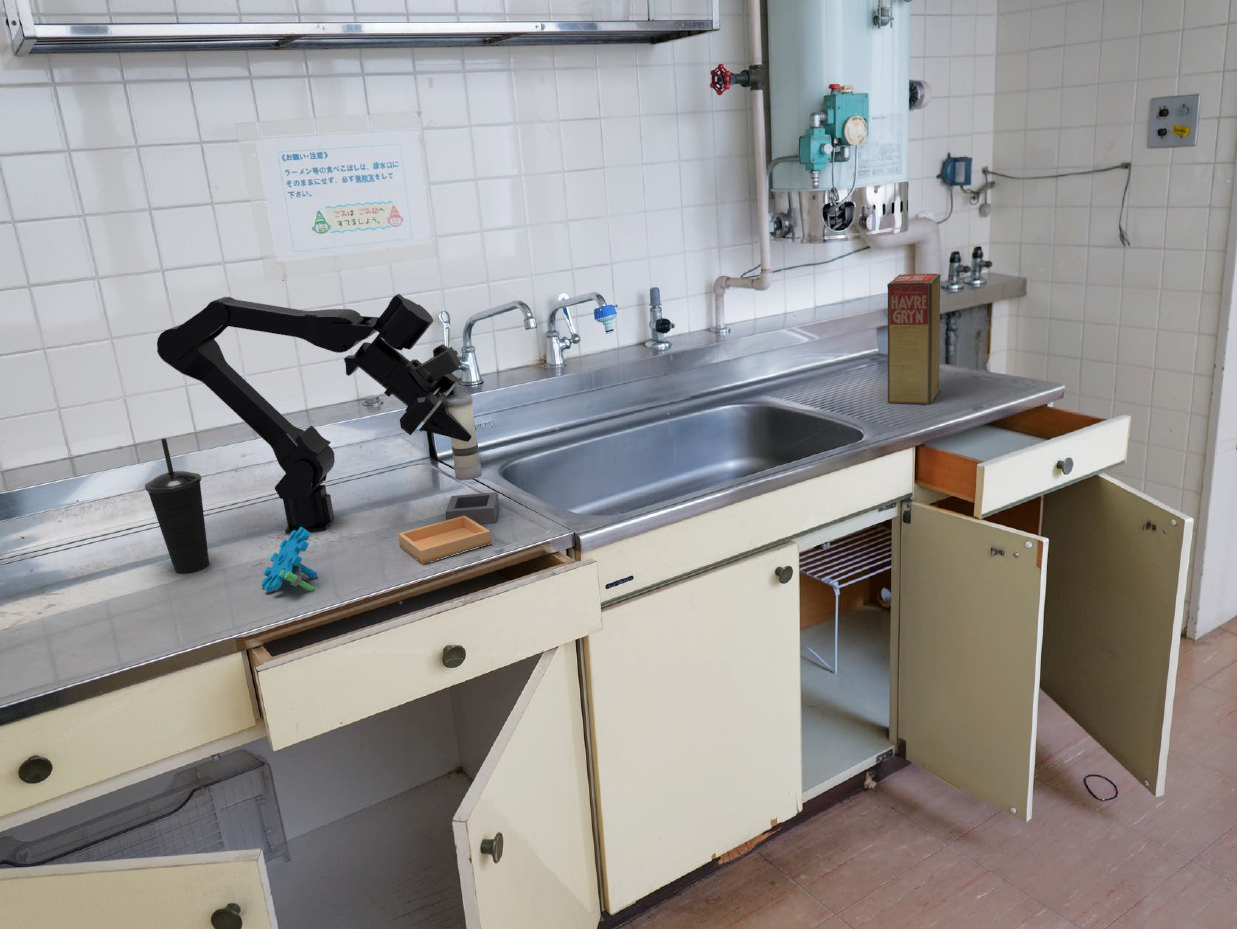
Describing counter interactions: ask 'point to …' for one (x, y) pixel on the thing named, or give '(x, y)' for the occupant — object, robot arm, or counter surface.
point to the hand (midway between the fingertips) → (472, 435)
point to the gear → (289, 563)
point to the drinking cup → (180, 516)
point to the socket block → (474, 507)
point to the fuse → (463, 451)
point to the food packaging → (913, 338)
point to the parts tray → (443, 539)
